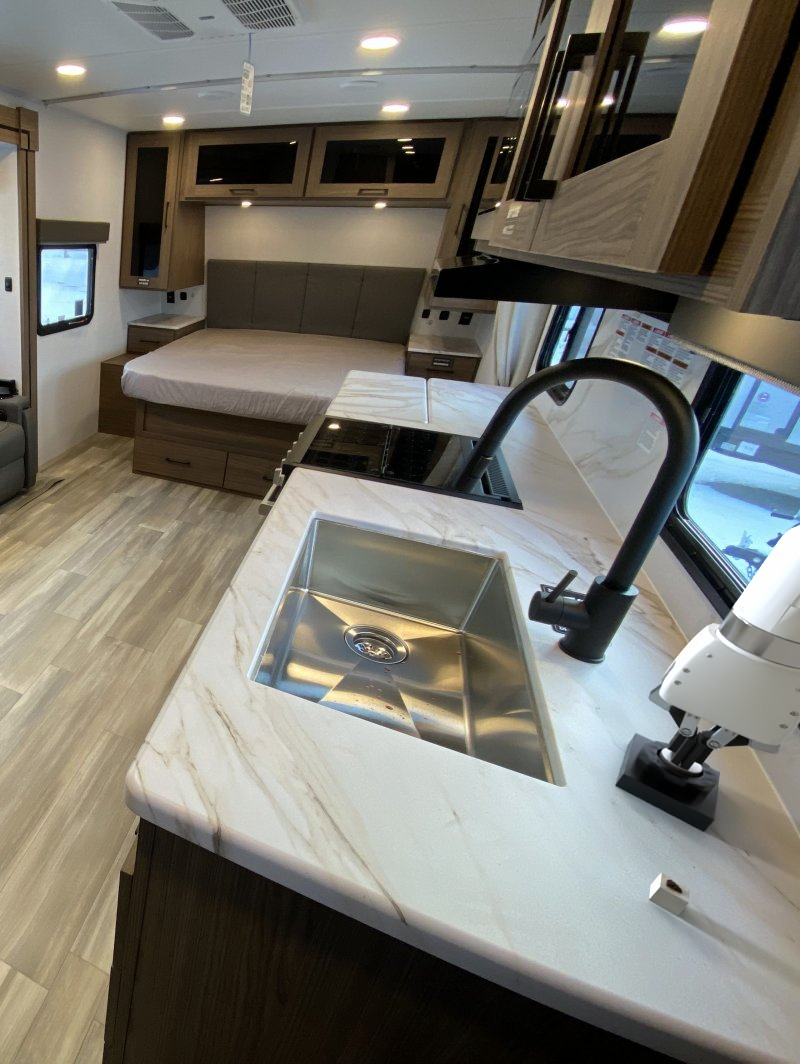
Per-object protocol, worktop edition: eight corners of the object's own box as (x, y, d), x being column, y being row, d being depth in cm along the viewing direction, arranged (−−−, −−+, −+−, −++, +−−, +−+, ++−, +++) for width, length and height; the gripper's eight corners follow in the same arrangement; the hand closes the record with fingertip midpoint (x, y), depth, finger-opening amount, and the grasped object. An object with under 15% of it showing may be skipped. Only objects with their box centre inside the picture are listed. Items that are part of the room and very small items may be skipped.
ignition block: (627, 744, 76) (642, 722, 75) (710, 784, 71) (728, 761, 69) (614, 786, 70) (630, 763, 68) (704, 832, 65) (723, 809, 63)
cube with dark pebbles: (648, 900, 58) (661, 885, 57) (650, 885, 59) (662, 870, 58) (677, 916, 57) (690, 901, 56) (678, 901, 58) (691, 886, 57)
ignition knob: (655, 754, 72) (663, 743, 71) (694, 773, 70) (703, 761, 69) (651, 770, 70) (660, 758, 69) (691, 789, 67) (701, 777, 66)
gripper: (880, 660, 58) (770, 783, 66) (680, 594, 67) (607, 709, 76) (888, 695, 53) (769, 822, 62) (673, 618, 63) (596, 737, 71)
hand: (680, 759), depth 69 cm, fingers closed
